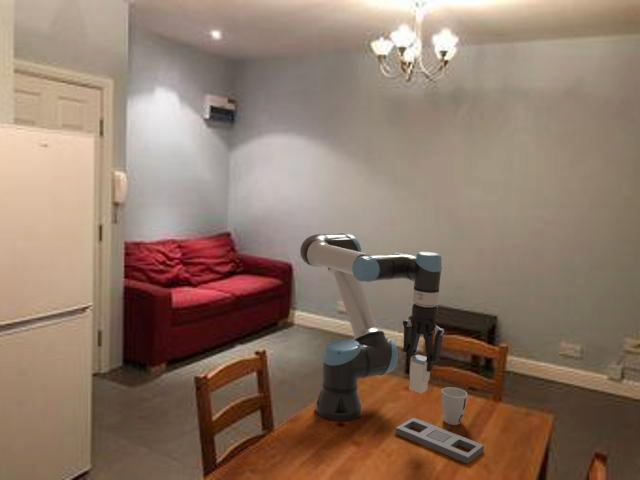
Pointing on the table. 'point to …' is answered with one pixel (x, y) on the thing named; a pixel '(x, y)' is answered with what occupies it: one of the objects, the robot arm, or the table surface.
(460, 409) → the cup
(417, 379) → the plug
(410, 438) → the panel
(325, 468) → the table surface
